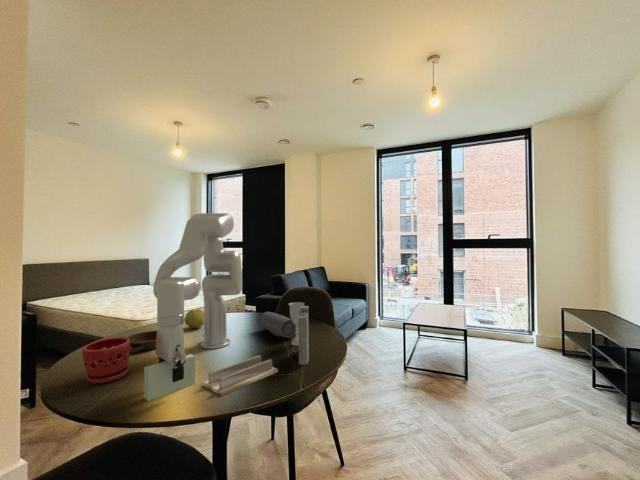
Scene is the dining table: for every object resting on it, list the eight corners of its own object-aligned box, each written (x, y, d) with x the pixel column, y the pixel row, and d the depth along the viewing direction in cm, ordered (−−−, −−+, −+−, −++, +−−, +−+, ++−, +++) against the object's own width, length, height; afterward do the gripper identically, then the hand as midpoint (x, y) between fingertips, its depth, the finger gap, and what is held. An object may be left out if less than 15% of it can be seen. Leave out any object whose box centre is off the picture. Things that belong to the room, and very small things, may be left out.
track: (202, 385, 96) (202, 372, 96) (258, 364, 112) (258, 353, 113) (221, 396, 89) (221, 382, 89) (278, 371, 105) (277, 360, 105)
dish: (111, 355, 124) (111, 343, 125) (146, 338, 146) (146, 328, 147) (151, 355, 123) (151, 343, 123) (180, 339, 145) (180, 328, 145)
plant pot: (102, 370, 109) (102, 336, 109) (138, 370, 108) (138, 336, 108) (71, 387, 96) (71, 349, 96) (112, 387, 95) (112, 349, 95)
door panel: (144, 398, 88) (144, 367, 88) (190, 381, 99) (190, 353, 99) (148, 401, 86) (148, 369, 86) (195, 384, 97) (195, 355, 97)
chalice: (306, 341, 139) (305, 302, 139) (303, 346, 132) (303, 305, 132) (290, 341, 140) (290, 302, 140) (287, 345, 133) (287, 305, 133)
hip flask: (299, 350, 127) (298, 302, 127) (308, 350, 127) (308, 302, 128) (298, 365, 111) (298, 311, 111) (309, 364, 111) (309, 310, 112)
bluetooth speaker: (258, 331, 157) (258, 311, 157) (274, 328, 162) (274, 309, 163) (279, 342, 139) (279, 320, 139) (297, 338, 144) (296, 317, 144)
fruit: (179, 330, 159) (179, 311, 159) (192, 325, 171) (192, 307, 171) (198, 331, 157) (198, 312, 157) (210, 325, 169) (210, 307, 169)
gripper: (146, 318, 96) (146, 372, 95) (170, 327, 85) (170, 388, 84) (171, 314, 101) (171, 365, 101) (196, 322, 90) (196, 379, 90)
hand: (170, 376), depth 93 cm, fingers open, 9 cm apart
